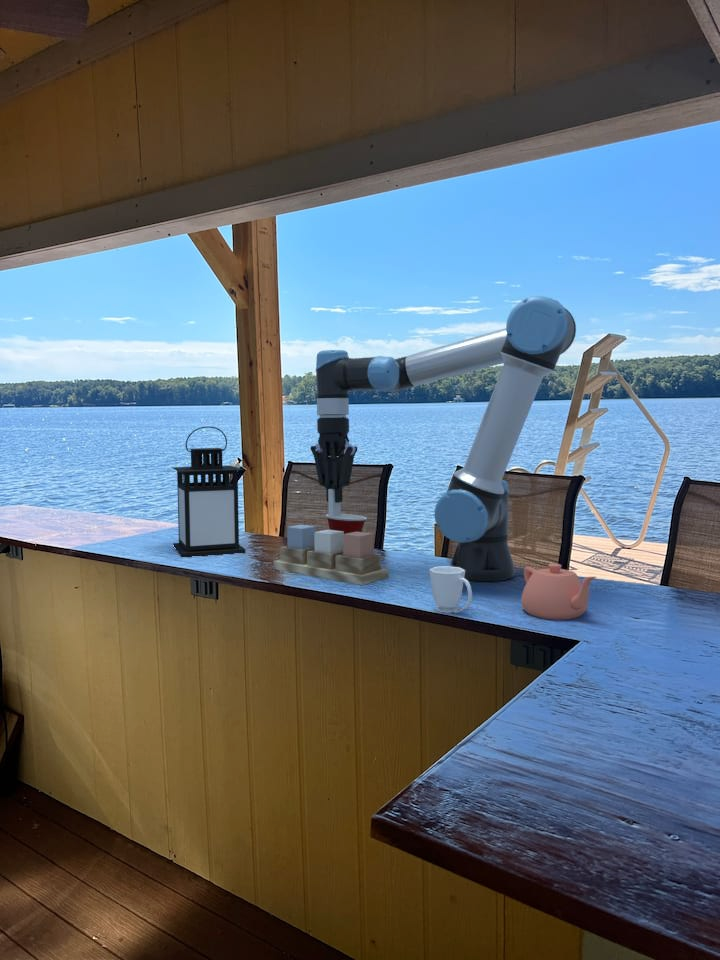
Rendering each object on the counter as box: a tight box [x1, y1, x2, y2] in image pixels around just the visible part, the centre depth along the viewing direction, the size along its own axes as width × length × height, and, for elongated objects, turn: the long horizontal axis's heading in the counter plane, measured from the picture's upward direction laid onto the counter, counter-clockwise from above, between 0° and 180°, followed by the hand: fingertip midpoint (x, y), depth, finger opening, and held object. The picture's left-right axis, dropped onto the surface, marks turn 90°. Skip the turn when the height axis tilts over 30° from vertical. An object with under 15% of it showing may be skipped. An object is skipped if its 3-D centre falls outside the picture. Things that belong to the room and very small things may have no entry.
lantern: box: [170, 426, 246, 558], centre depth 207 cm, size 17×17×35 cm
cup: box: [428, 565, 473, 614], centre depth 143 cm, size 7×10×8 cm
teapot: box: [520, 563, 597, 621], centre depth 141 cm, size 12×18×10 cm
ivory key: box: [314, 529, 344, 554], centre depth 177 cm, size 5×5×6 cm
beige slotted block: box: [272, 545, 389, 586], centre depth 178 cm, size 28×10×6 cm, turn 52°
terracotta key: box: [343, 531, 375, 559], centre depth 172 cm, size 5×5×6 cm
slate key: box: [286, 524, 317, 550], centre depth 183 cm, size 5×5×6 cm
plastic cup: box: [325, 513, 368, 534], centre depth 193 cm, size 11×11×12 cm
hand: (334, 515), depth 176 cm, fingers closed
